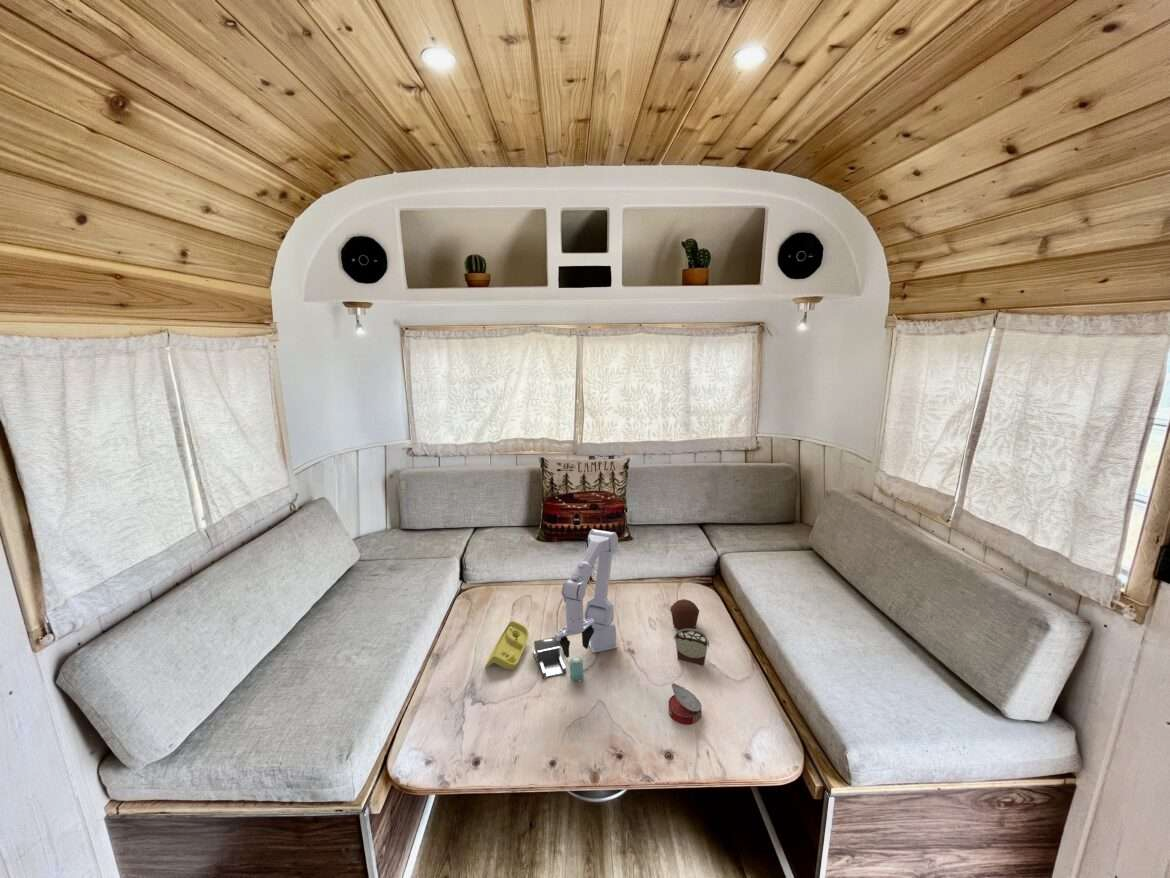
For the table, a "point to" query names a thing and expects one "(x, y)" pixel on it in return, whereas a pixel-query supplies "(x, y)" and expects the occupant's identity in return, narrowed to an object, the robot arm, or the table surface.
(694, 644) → the food container
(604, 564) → the robot arm
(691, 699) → the canned food
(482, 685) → the table surface
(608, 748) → the table surface
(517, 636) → the plastic component
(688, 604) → the muffin
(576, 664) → the teal rounded cylinder
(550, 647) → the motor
